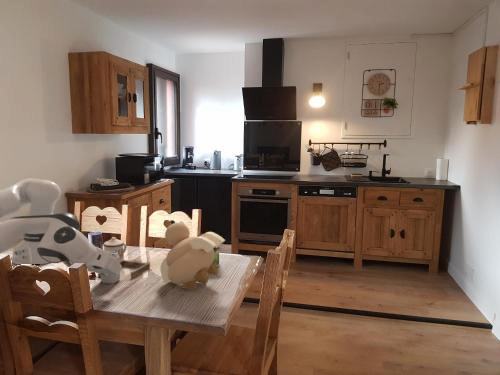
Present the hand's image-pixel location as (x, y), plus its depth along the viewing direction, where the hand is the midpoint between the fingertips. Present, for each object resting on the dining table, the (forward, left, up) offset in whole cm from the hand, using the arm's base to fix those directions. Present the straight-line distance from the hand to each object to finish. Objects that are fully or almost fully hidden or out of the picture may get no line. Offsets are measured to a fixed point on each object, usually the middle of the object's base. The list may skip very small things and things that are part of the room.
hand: (105, 274), depth 151 cm
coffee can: (+29, +37, -5) cm, 47 cm away
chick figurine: (+32, +10, -5) cm, 34 cm away
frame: (-1, +16, -5) cm, 17 cm away
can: (-1, +4, -5) cm, 7 cm away
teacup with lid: (-15, +28, -5) cm, 32 cm away
